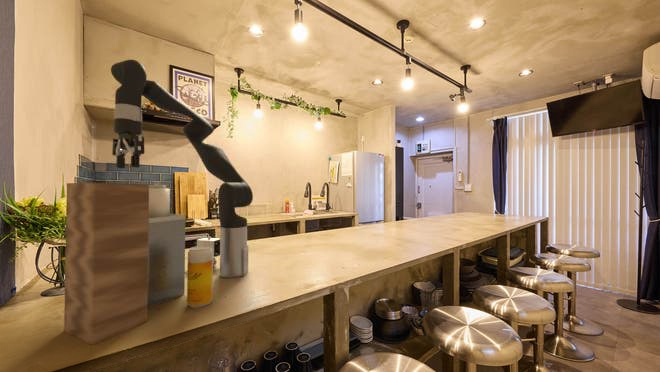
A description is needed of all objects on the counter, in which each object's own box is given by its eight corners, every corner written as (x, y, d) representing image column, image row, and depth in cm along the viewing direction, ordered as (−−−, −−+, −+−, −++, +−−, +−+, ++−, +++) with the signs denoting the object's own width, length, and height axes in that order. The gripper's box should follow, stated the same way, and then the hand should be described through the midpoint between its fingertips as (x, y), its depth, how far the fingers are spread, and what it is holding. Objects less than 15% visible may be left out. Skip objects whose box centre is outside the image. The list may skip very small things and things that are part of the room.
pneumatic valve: (218, 269, 97) (218, 238, 97) (192, 267, 100) (192, 236, 100) (227, 265, 103) (227, 235, 103) (201, 263, 105) (202, 234, 105)
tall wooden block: (64, 330, 55) (66, 183, 55) (118, 310, 64) (120, 184, 64) (92, 345, 50) (95, 182, 50) (147, 321, 59) (149, 183, 59)
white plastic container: (115, 218, 76) (116, 185, 76) (137, 216, 81) (138, 185, 81) (152, 221, 68) (152, 184, 68) (174, 219, 74) (174, 185, 74)
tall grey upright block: (125, 301, 69) (127, 216, 70) (163, 288, 79) (164, 213, 79) (147, 308, 65) (149, 218, 66) (184, 293, 74) (185, 214, 75)
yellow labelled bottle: (185, 302, 69) (186, 247, 69) (209, 296, 72) (210, 244, 73) (189, 311, 64) (189, 251, 64) (214, 304, 68) (215, 248, 68)
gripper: (103, 120, 86) (102, 167, 85) (127, 114, 80) (127, 166, 79) (129, 125, 92) (128, 169, 92) (152, 120, 86) (152, 167, 86)
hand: (127, 167), depth 86 cm, fingers open, 8 cm apart
